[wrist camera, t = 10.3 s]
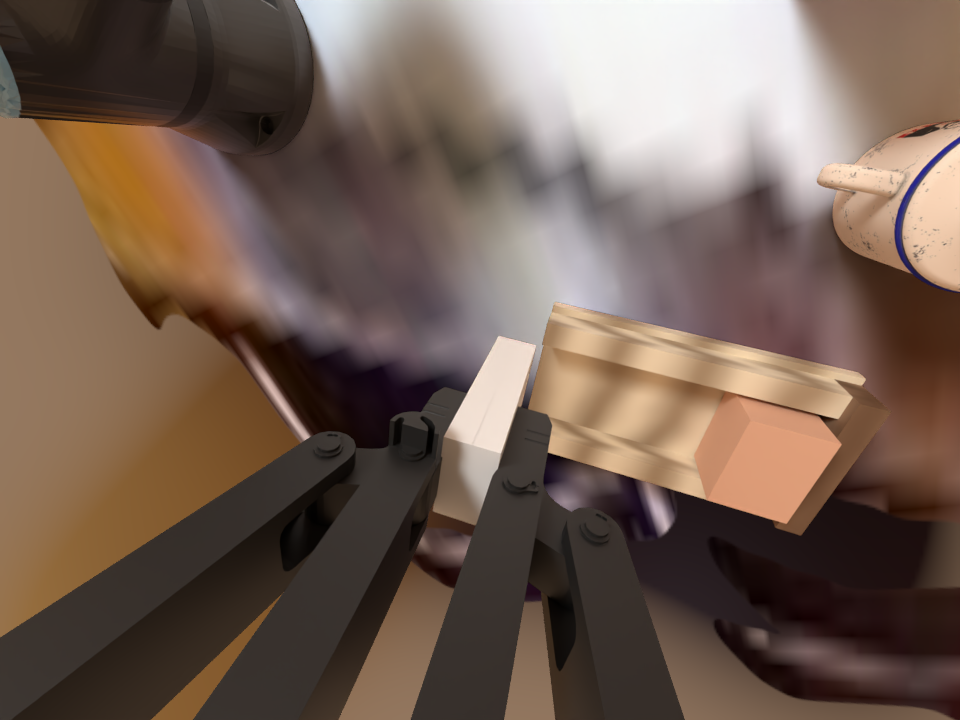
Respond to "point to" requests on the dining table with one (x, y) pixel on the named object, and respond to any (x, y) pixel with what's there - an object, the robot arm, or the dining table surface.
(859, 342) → the dining table surface
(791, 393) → the chute
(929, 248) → the teacup with lid
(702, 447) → the block
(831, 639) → the dining table surface
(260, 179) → the dining table surface
